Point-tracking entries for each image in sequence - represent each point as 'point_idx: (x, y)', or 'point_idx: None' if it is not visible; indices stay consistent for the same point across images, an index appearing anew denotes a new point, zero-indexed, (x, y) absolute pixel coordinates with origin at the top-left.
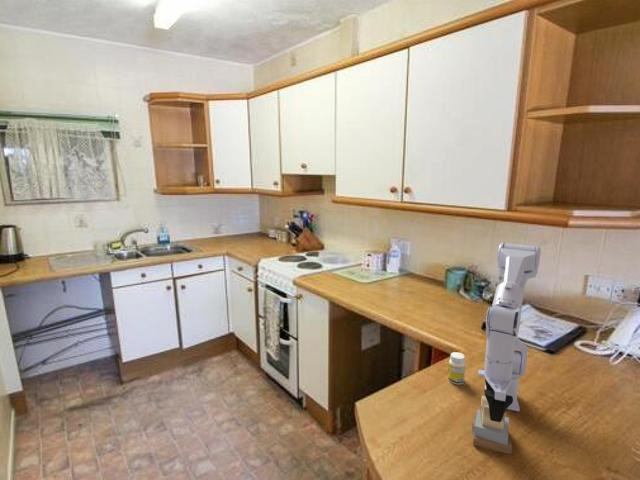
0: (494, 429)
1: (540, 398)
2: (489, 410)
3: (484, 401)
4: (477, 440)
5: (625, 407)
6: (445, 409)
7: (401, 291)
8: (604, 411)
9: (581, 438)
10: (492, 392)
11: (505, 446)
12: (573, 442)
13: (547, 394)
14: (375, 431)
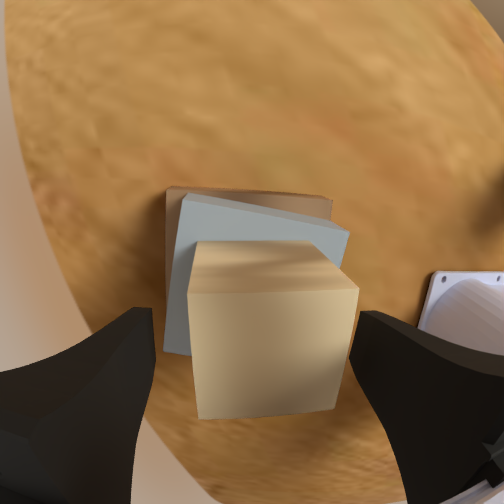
0: (187, 300)
1: None
2: (93, 335)
3: (272, 303)
4: (166, 206)
5: (403, 495)
6: (382, 95)
7: None
8: (396, 482)
9: (308, 468)
10: (33, 491)
11: None
12: (290, 458)
13: None
14: None
